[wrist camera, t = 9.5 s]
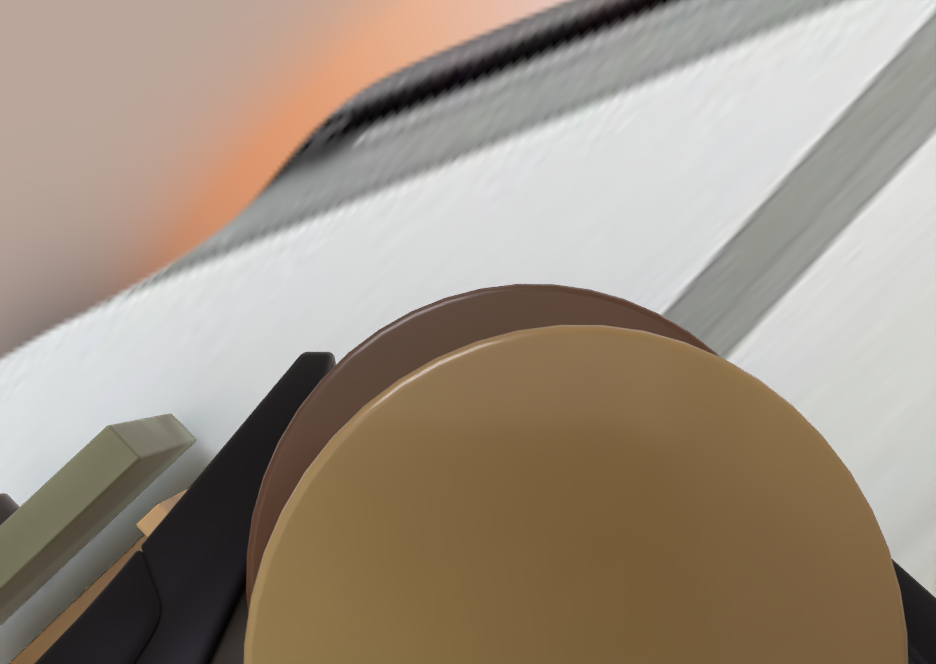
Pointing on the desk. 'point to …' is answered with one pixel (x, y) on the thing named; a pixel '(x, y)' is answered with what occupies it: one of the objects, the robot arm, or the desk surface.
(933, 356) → the desk surface
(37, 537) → the drawer
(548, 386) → the pepper mill
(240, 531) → the robot arm
